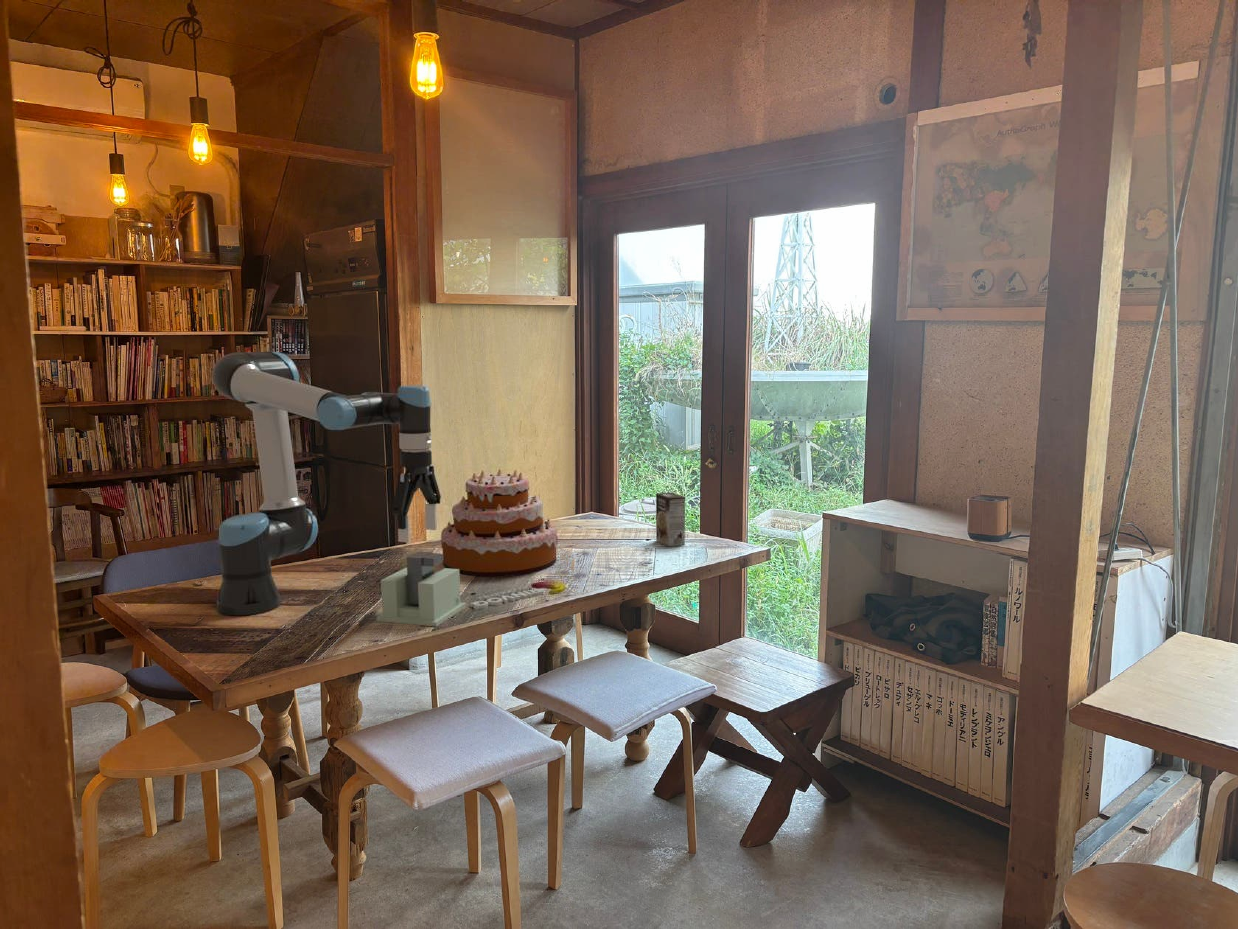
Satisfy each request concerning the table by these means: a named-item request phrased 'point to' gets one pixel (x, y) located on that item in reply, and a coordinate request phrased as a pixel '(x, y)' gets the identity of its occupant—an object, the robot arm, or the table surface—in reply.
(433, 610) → the green slotted holder
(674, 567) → the table surface
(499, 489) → the cake
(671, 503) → the instant coffee box
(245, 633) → the table surface
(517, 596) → the logo
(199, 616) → the table surface
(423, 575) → the stepped grey block
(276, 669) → the table surface
